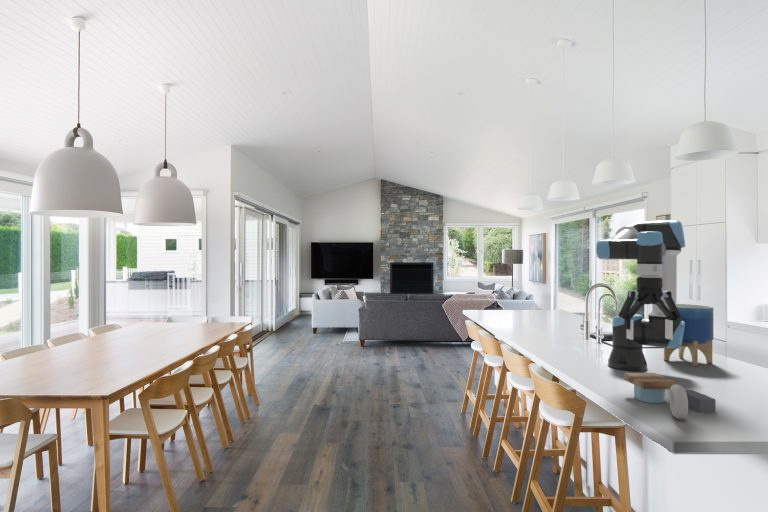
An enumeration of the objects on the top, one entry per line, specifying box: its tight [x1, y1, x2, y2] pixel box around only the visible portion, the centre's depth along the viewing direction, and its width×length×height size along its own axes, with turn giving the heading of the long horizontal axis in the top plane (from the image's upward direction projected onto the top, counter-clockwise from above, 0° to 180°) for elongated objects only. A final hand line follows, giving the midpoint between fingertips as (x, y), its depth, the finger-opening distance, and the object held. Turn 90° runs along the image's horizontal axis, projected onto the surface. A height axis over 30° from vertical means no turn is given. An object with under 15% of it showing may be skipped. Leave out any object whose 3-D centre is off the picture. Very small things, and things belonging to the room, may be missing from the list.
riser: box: [685, 389, 717, 413], centre depth 140 cm, size 10×5×4 cm, turn 2°
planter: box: [663, 303, 714, 367], centre depth 203 cm, size 19×19×26 cm
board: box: [623, 372, 678, 390], centre depth 147 cm, size 11×11×2 cm
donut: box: [668, 383, 689, 420], centre depth 129 cm, size 10×3×10 cm, turn 158°
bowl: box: [633, 384, 666, 404], centre depth 147 cm, size 8×8×5 cm
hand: (649, 339), depth 148 cm, fingers open, 13 cm apart
